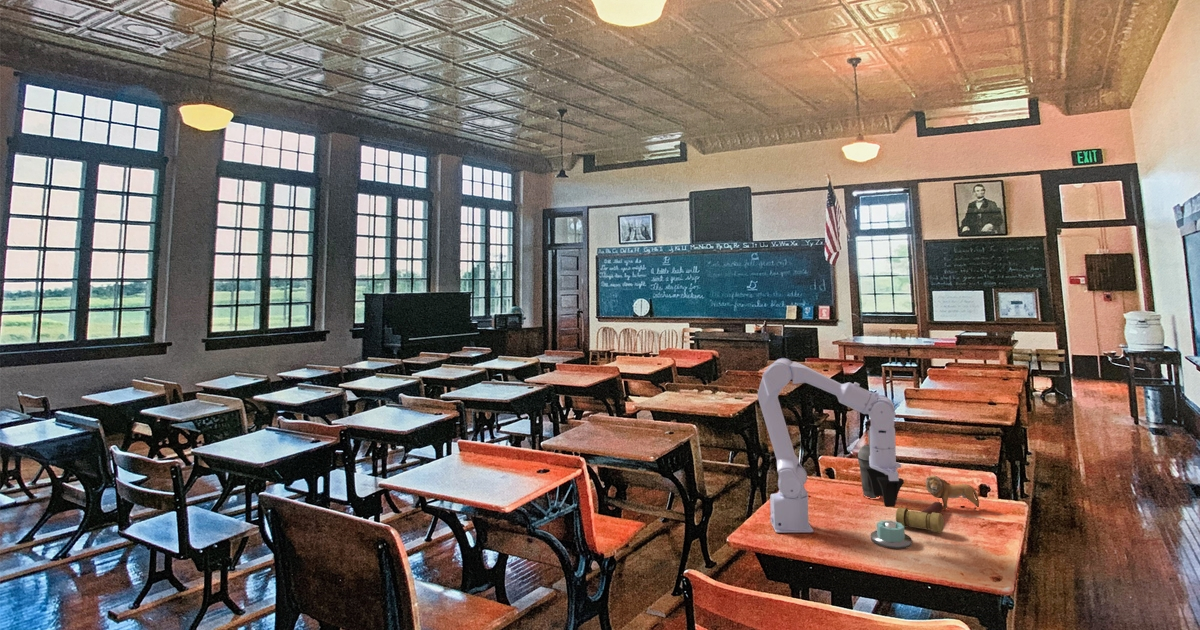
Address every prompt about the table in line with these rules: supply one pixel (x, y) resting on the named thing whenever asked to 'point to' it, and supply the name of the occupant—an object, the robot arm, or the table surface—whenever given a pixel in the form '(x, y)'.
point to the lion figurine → (950, 490)
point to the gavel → (922, 518)
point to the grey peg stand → (892, 545)
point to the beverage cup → (864, 461)
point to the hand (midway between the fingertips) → (884, 500)
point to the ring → (890, 532)
